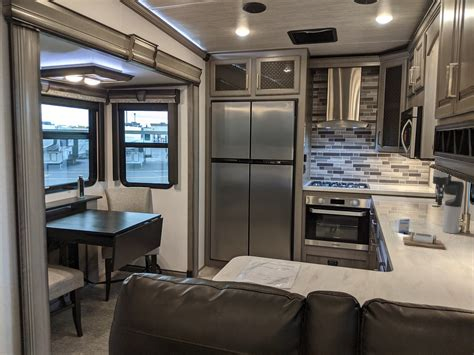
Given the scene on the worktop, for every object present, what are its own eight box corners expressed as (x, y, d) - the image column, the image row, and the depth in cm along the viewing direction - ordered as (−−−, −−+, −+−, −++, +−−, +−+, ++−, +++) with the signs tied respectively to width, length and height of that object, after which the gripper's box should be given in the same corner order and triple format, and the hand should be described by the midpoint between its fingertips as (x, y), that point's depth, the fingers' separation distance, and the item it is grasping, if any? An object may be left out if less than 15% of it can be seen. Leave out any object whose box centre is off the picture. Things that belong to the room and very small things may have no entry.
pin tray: (402, 238, 224) (403, 230, 224) (440, 242, 217) (441, 234, 217) (404, 244, 211) (405, 235, 211) (444, 249, 204) (445, 240, 204)
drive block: (414, 239, 218) (414, 232, 218) (431, 241, 215) (432, 234, 214) (414, 241, 214) (414, 234, 213) (431, 244, 210) (432, 236, 210)
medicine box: (398, 233, 237) (399, 219, 236) (393, 231, 241) (394, 218, 240) (408, 232, 239) (410, 219, 238) (404, 230, 243) (405, 217, 242)
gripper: (431, 173, 220) (429, 200, 222) (434, 177, 207) (432, 205, 209) (446, 174, 217) (444, 201, 220) (450, 177, 204) (447, 206, 206)
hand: (438, 203), depth 214 cm, fingers open, 8 cm apart
